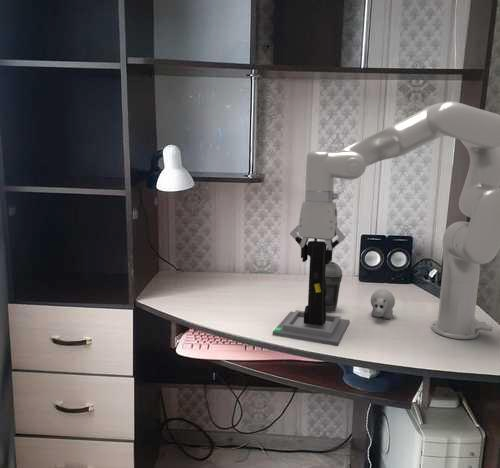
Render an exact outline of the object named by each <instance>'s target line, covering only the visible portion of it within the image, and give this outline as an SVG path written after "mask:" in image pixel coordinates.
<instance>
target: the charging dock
mask: <svg viewBox="0 0 500 468" xmlns="http://www.w3.org/2000/svg"><path fill="white" fill-rule="evenodd" d="M304 311H305V310H304ZM304 311H303V310H298V309H297V310H296V309H295V311H289V313H288V314H287V315H286V316H285V317H284V318H283V320H282V321H281V322H280V323H279V324H278V325H277V326H276V327H275V328H274V330H273V331H272V336H275V337H279V338H280V337H281V338H286V339H292V340H297V341H298V340H299V341H305V342H309V343H310V342H311V343H317V344H323V345H329V346H335V347H338V346H339V345H340V343H341V341H342V339H343V337H344V334H345V333H346V330H347V328H348V327H349V325H350V319H345V318H342V317H341V316H338V315H332V314H326V322H325V324H323V325H311V324H305V323H304Z"/></svg>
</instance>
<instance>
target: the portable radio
mask: <svg viewBox="0 0 500 468" xmlns="http://www.w3.org/2000/svg"><path fill="white" fill-rule="evenodd" d="M326 250H327V244H326V241H325V240H322V241H321V240H318V239H313V240H310V241H309V240H308V242H307V255H308V257H309V271H308V272H309V276H308V294H307V295H308V297H307V305H305V307H304V323H305V324H311V325H323V324H325V322H326V315H327V312H326V293H327V288H326V283H325V282H326V280H325V271H326V264H325V262H326Z"/></svg>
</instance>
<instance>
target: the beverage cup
mask: <svg viewBox="0 0 500 468" xmlns="http://www.w3.org/2000/svg"><path fill="white" fill-rule="evenodd" d="M342 279H343V270H342V268H341V266H339V264H337V263H336V262H333V261H330V263H329V264H326V271H325V280H326V282H325V283H326V288H327V293H326V313H336V312H337V306H338V301H339V296H340V295H339V294H340V287H341V282H342Z"/></svg>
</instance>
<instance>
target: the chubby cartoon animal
mask: <svg viewBox="0 0 500 468" xmlns="http://www.w3.org/2000/svg"><path fill="white" fill-rule="evenodd" d="M370 304H371V307H372V310H371V316H372V317H374V318H378V317H379V318H381V317H382V318H383V319H384V320H385V319H386V320H388V319H391V318H392V316H393V313H394V310H393V308H394V307H395V304H396V299H395V296H394V295H393V293H392V292H391V291H390V290H388V289H382V288H381V289H378V290H375V291H374V292H373V293H372V295H371V296H370Z"/></svg>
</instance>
